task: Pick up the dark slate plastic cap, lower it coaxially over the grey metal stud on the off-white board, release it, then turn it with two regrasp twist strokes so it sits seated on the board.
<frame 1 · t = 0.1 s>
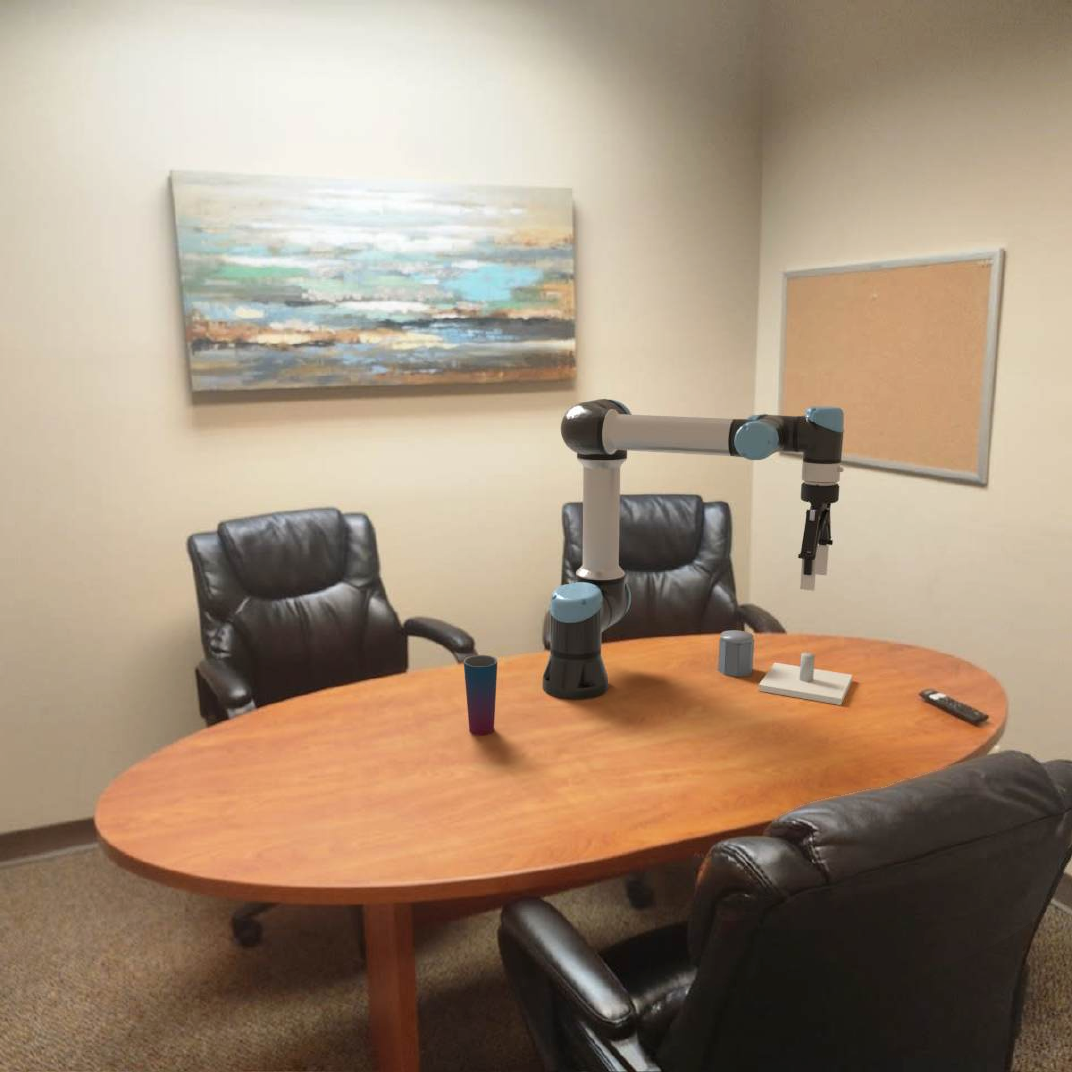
hand: (813, 581, 187), 28 cm above the table, fingers open, 13 cm apart
stud board: (805, 685, 204), on the table
cup: (481, 730, 181), on the table
cap: (735, 670, 213), on the table
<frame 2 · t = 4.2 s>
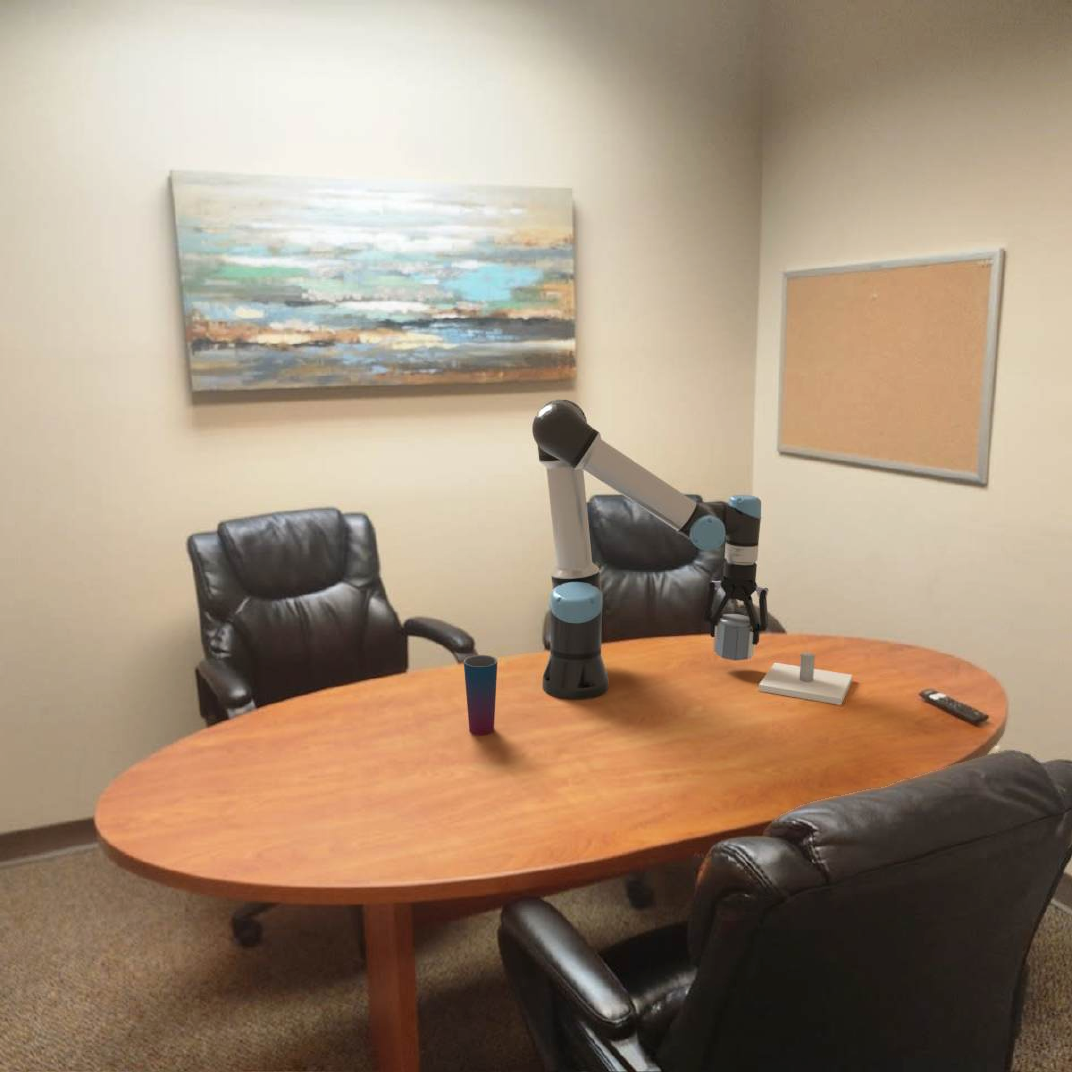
hand: (733, 653, 212), 4 cm above the table, fingers closed on cap, 8 cm apart
cap: (733, 654, 212), point 4 cm above the table, touching gripper
everything else where it was.
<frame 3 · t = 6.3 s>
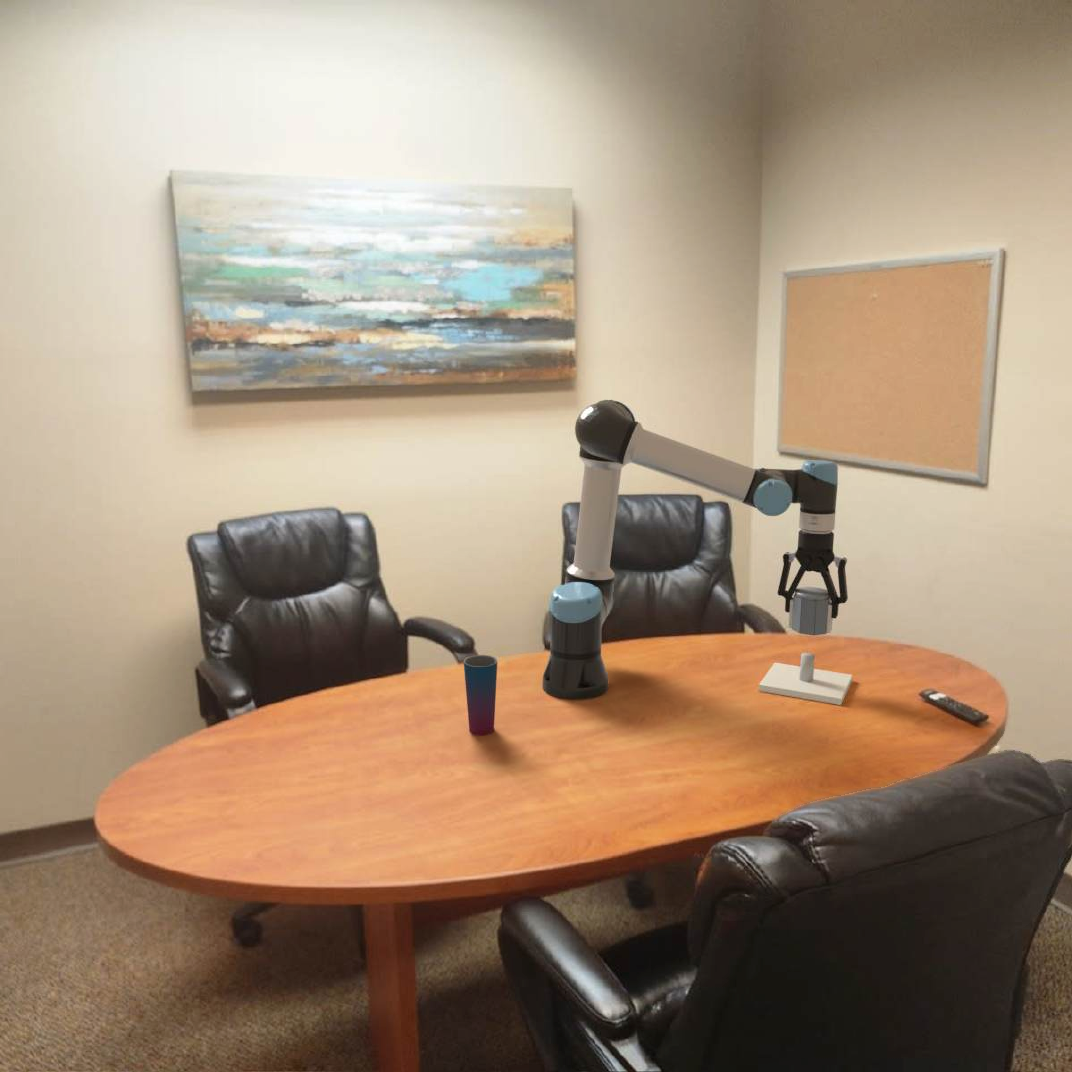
hand: (810, 628, 201), 14 cm above the table, fingers closed on cap, 8 cm apart
cap: (810, 629, 201), point 14 cm above the table, touching gripper
everything else where it was.
when the fingers open (3 cm above the table, at t = 8.6 s): cap stays where it is, resting on stud board.
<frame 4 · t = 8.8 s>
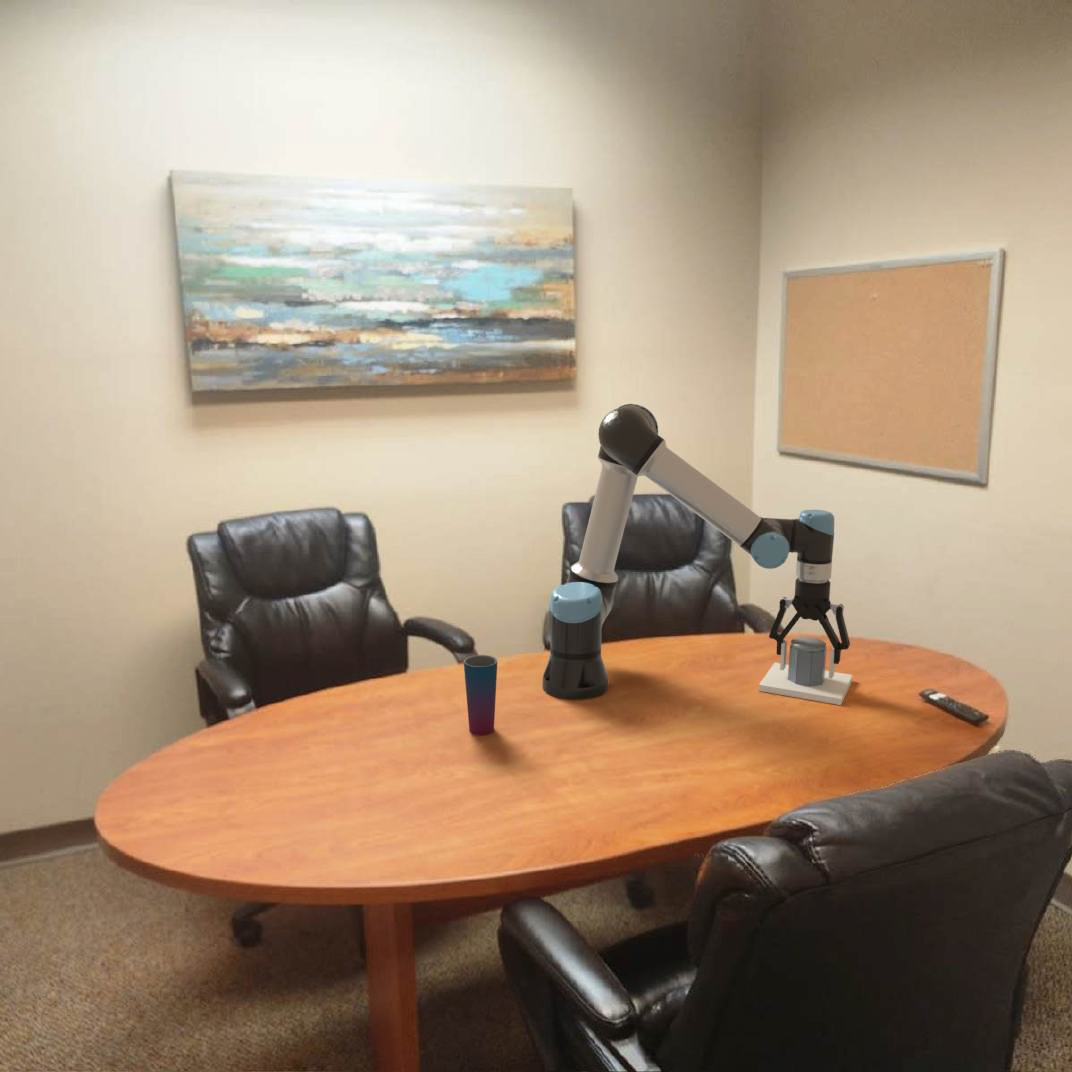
hand: (806, 672, 203), 3 cm above the table, fingers open, 10 cm apart
cap: (806, 679, 203), point 1 cm above the table, touching stud board
everything else where it was.
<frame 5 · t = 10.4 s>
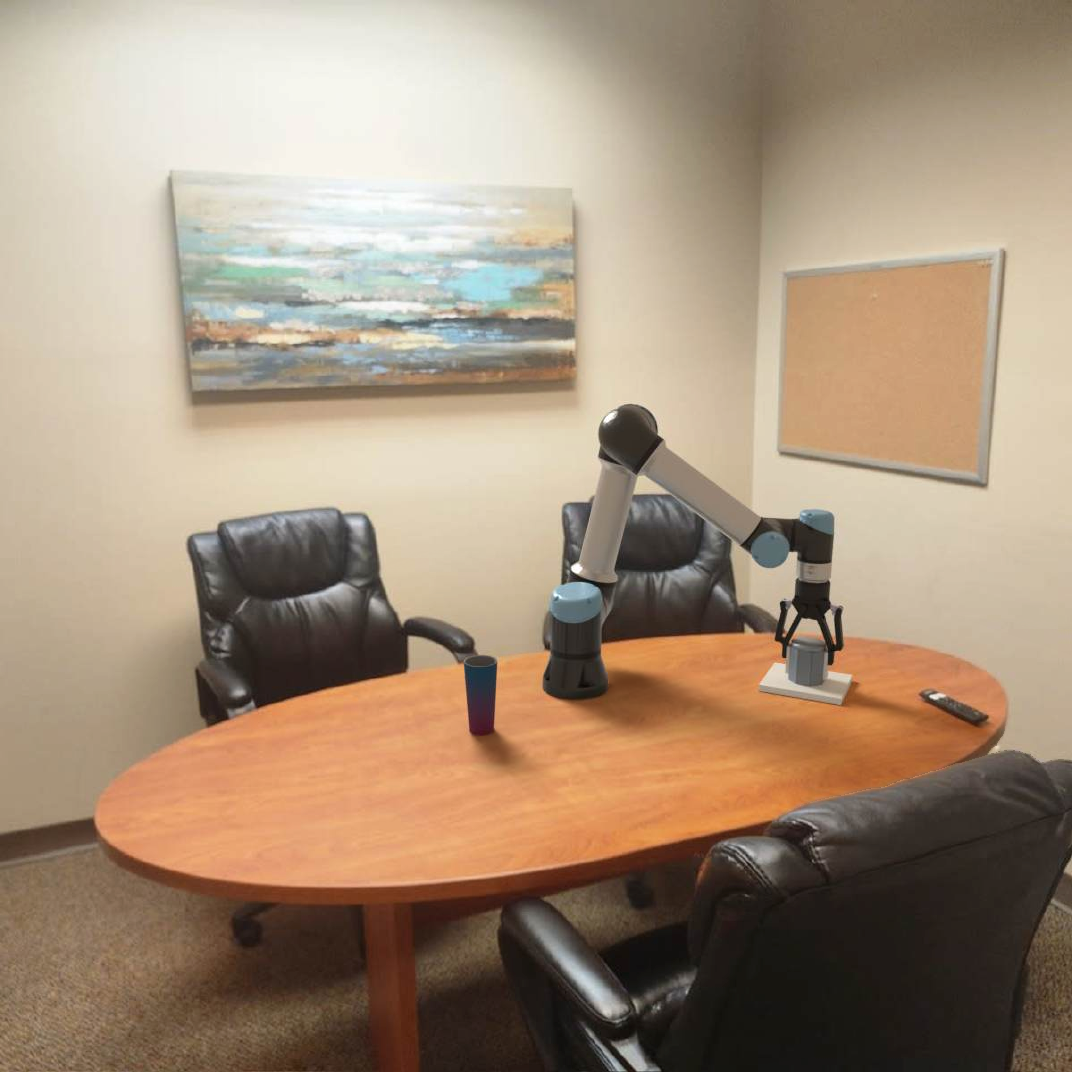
hand: (806, 674, 203), 3 cm above the table, fingers closed on cap, 8 cm apart
cap: (806, 679, 203), point 2 cm above the table, touching gripper, stud board
everything else where it was.
when the fingers open (3 cm above the table, at t = 11.6 s): cap stays where it is, resting on stud board.
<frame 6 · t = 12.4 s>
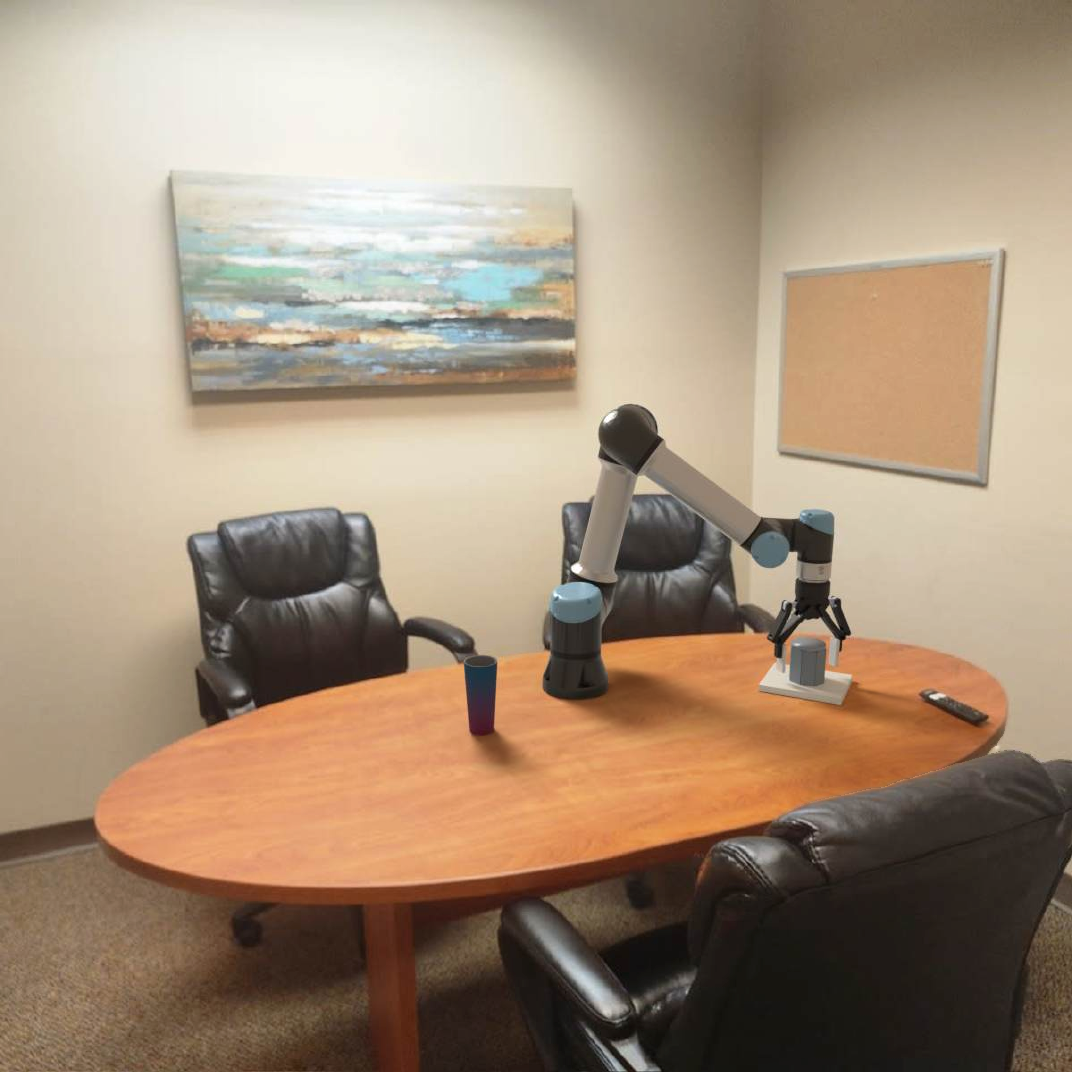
hand: (807, 668, 203), 4 cm above the table, fingers open, 13 cm apart
cap: (806, 679, 203), point 1 cm above the table, touching stud board
everything else where it was.
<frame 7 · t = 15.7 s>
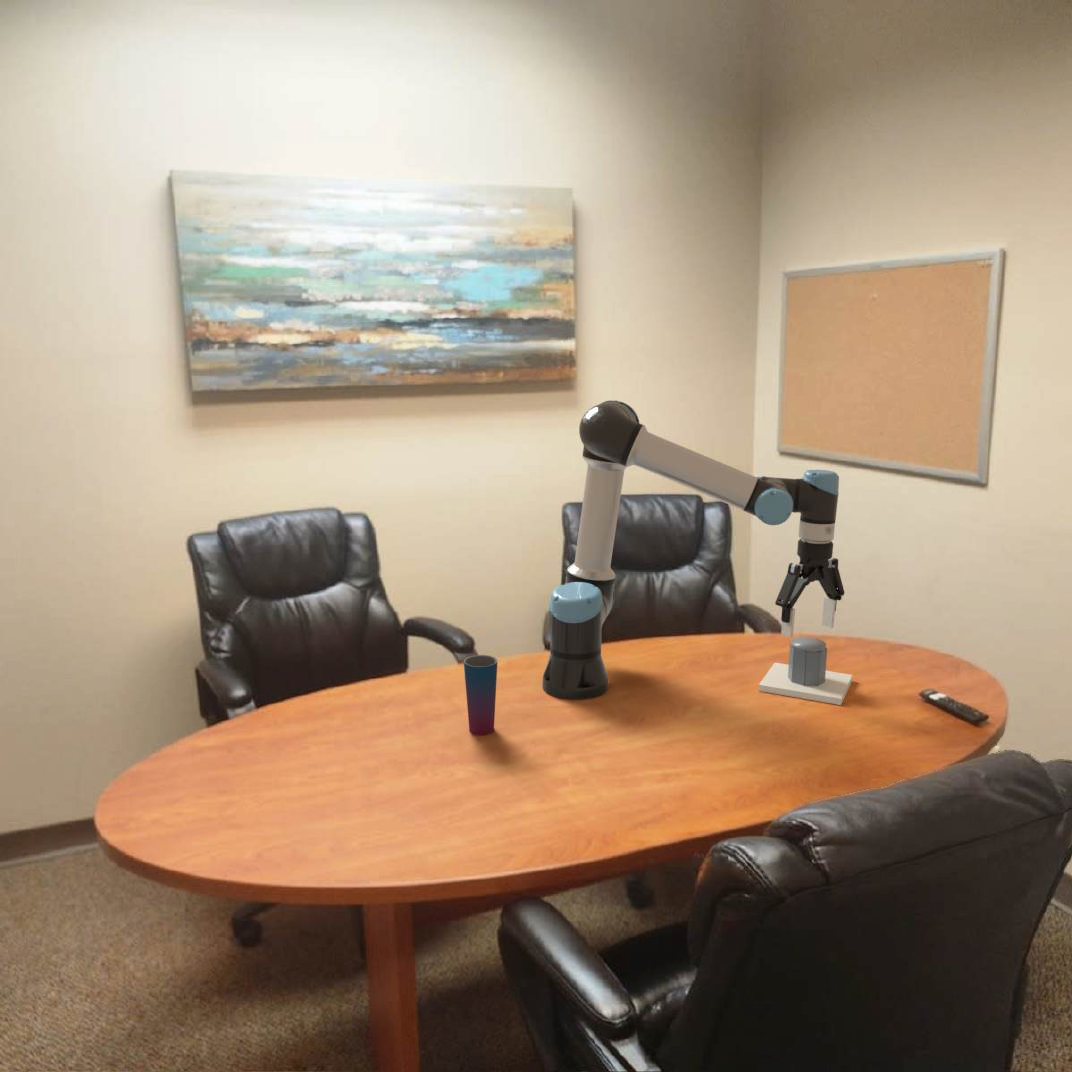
hand: (807, 631, 201), 13 cm above the table, fingers open, 13 cm apart
nothing on the table moved.
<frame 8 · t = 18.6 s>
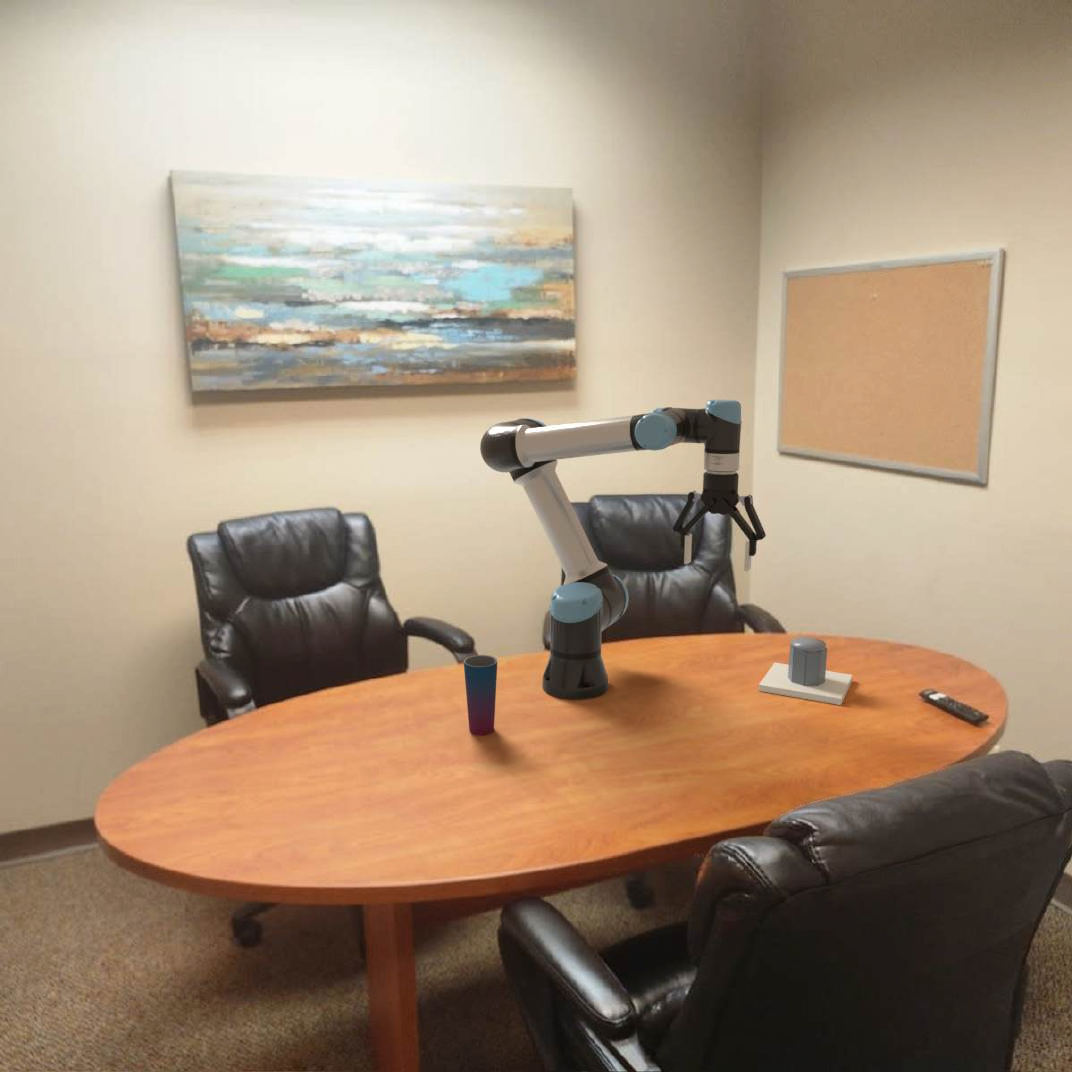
hand: (716, 566, 197), 29 cm above the table, fingers open, 13 cm apart
nothing on the table moved.
at the end: cap 0.0 cm off-centre on the stud board, point 1.5 cm above the stud board's base; cap tilted 0°; the gripper is holding nothing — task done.
